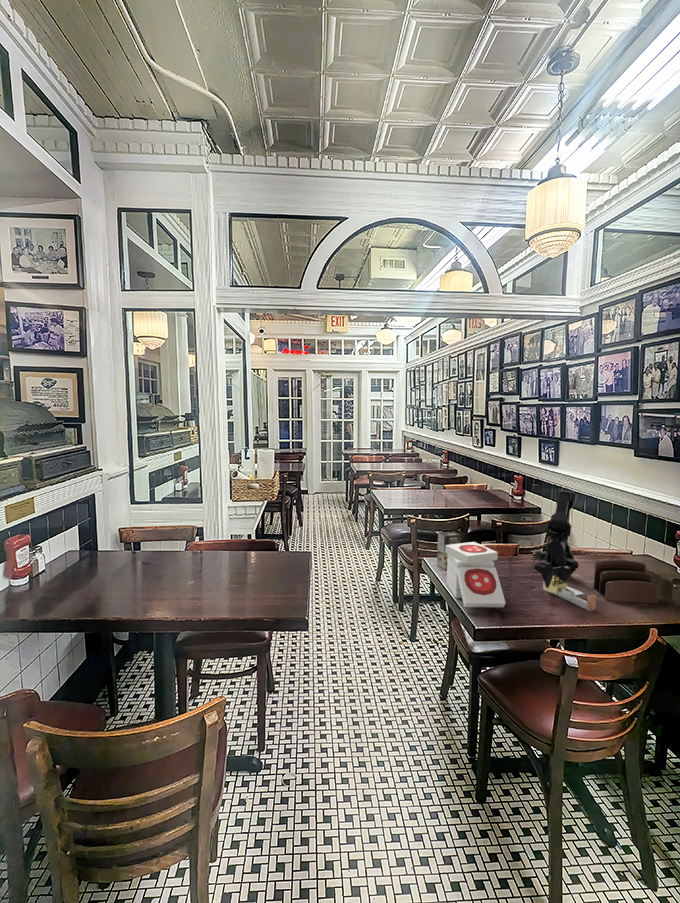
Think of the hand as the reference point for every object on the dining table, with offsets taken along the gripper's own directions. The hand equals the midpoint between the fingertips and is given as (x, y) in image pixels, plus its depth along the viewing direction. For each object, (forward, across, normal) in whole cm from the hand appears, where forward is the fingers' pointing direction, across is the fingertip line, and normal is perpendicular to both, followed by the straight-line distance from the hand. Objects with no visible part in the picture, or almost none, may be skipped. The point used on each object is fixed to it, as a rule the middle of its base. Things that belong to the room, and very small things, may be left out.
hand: (555, 585), depth 177 cm
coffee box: (+4, +21, -43) cm, 48 cm away
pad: (+4, -7, 0) cm, 8 cm away
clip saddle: (+2, 0, 0) cm, 2 cm away
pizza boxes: (+4, +33, -11) cm, 35 cm away
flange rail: (+3, +4, +6) cm, 8 cm away
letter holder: (+4, -24, +12) cm, 28 cm away
